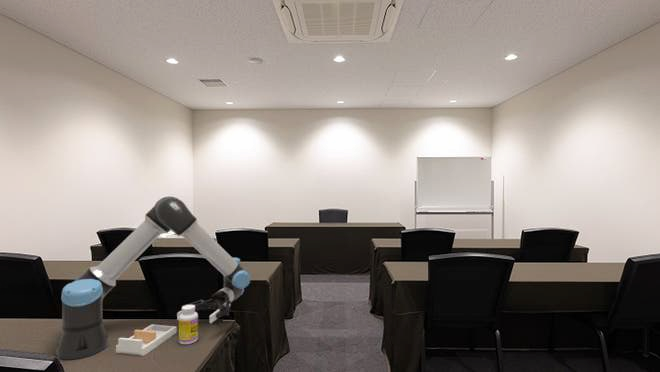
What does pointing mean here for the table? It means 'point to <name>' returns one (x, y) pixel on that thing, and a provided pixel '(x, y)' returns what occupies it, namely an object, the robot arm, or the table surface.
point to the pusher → (145, 335)
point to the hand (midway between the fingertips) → (194, 318)
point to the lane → (141, 348)
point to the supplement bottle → (188, 325)
